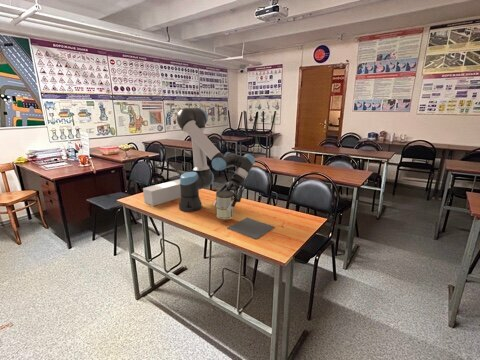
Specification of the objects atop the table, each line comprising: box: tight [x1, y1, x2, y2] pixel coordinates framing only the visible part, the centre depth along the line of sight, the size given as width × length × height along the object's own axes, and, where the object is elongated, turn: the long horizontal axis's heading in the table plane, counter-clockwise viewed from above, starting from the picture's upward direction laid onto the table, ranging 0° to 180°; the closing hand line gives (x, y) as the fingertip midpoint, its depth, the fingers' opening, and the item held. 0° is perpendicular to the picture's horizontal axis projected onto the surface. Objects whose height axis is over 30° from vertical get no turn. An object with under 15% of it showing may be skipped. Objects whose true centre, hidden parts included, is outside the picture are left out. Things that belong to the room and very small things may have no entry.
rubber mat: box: [226, 217, 276, 240], centre depth 148 cm, size 20×18×1 cm
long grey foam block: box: [142, 178, 181, 207], centre depth 194 cm, size 32×11×11 cm, turn 140°
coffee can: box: [215, 190, 234, 220], centre depth 154 cm, size 10×10×14 cm
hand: (221, 208), depth 152 cm, fingers closed on coffee can, 10 cm apart
